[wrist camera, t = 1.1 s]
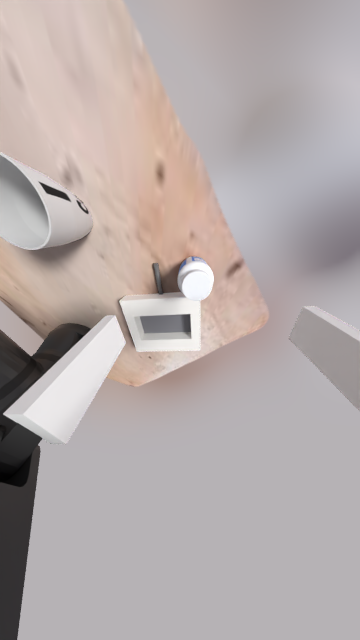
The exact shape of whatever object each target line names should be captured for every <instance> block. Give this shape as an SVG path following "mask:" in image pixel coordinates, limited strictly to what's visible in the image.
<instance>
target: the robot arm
mask: <svg viewBox="0 0 360 640" xmlns="http://www.w3.org/2000/svg"><path fill="white" fill-rule="evenodd" d="M289 340H291V342H292V343H293V344H294V345H295V346H296V347H297V348H298V349H299V350H300V351H301V352H302V353H303V354H304V355H305V356H306V357H307V358H308V359H309V360H310V361H311V362H312V363H313V364H314V365H315V366H316V367H317V368H318V369H319V370H320V371H321V372H322V373H323V374H324V375H325V376H326V377H327V378H328V379H329V380H330V381H331V382H332V383H333V384H334V385H335V386H336V387H337V389H339V390H340V392H341V393H342V394H344V396H345V397H346V398H347V399H348V400H349V401H350V402H351V403H352V404H353V405H354V406H355V407H356V408H357V409H358V410H359V411H360V330H358V329H356V328H355V327H353V326H351V325H349V324H347V323H345V322H344V321H342V320H340V319H338V318H336V317H334V316H332V315H330V314H329V313H327V312H325V311H323V310H322V309H320V308H318V307H316V306H304V307H302V309H301V312H300V314H299V316H298V318H297V321H296V323H295V325H294V328H293V330H292V332H291V334H290V336H289ZM125 344H126V342H125V339H124V336H123V334H122V331H121V329H120V326H119V323H118V321H117V318H116V316H115V315H108V316H105V317H104V318H103V319H102V320H101V321H100V322H98V323H97V324H96V325H95V326H94V327H93V328H92V329H89V328H87V327H85V326H82V325H78V324H71V323H70V324H63V325H60V326H58V327H57V328H55V329H54V330H53V331H51V332H50V333H49V335H48V336H47V338H46V339H45V340H44V342H43V343H42V345H41V346H40V347H39V349H38V350H37V352H36V353H35V354H34V355H33V356H30V355H29V354H27V353H26V352H25V351H24V350H23V349H21V347H19V346H18V345H17V344H16V343H15V342H14V341H13V340H12V339H10V338H9V337H8V336H7V335H6V334H5V333H4V332H2V331H1V330H0V640H17V636H18V628H19V620H20V612H21V604H22V596H23V595H22V594H23V587H24V580H25V572H26V564H27V563H26V562H27V554H28V547H29V539H30V531H31V523H32V515H33V507H34V498H35V491H36V482H37V474H38V466H39V458H40V446H38V444H39V442H40V441H41V440H42V439H44V440H46V441H48V442H49V443H50V444H67V443H68V441H69V439H70V437H71V436H72V434H73V432H74V431H75V429H76V427H77V426H78V424H79V422H80V420H81V419H82V417H83V415H84V414H85V412H86V410H87V408H88V407H89V405H90V403H91V402H92V400H93V398H94V397H95V395H96V393H97V391H98V390H99V388H100V386H101V385H102V383H103V381H104V379H105V378H106V376H107V374H108V373H109V371H110V369H111V368H112V366H113V364H114V363H115V361H116V359H117V357H118V356H119V354H120V352H121V351H122V349H123V347H124V345H125Z"/></svg>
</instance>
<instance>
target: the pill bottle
mask: <svg viewBox="0 0 360 640" xmlns="http://www.w3.org/2000/svg"><path fill="white" fill-rule="evenodd" d="M213 281H214V277H213V273H212V270H211V269H210V267H209V266H208V265H207V263H206V262H205V261H204V260H203V259H202V258H200V257H197V256H191V257H188V258H186V259H185V260H184V261H183V262H182V264H181V266H180V269H179V273H178V287H179V289H180V291H181V292H182V293H183V294H184V295H185V296H186V297H187V298H188V299H190V300H193V301H200V300H203V299H205V298H206V297H207V296H208V295H209V294H210V292H211V290H212V285H213Z"/></svg>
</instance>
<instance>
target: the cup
mask: <svg viewBox="0 0 360 640" xmlns="http://www.w3.org/2000/svg"><path fill="white" fill-rule="evenodd" d="M92 226H93V220H92V216H91V213H90V211H89V209H88V208H87V206H86V205H85V204H84V203H83V202H82V201H81V200H80V199H79V198H77V197H76V196H75V195H74V194H73V193H72V192H71V191H69V190H68V189H66V188H65V187H63V186H62V185H60V184H59V183H57V182H56V181H54V180H52V179H51V178H49V177H48V176H46V175H45V174H43V173H41V172H39V171H37V170H35V169H33V168H31V167H29V166H27V165H25V164H23V163H21V162H19V161H17V160H15V159H13V158H11V157H9V156H7V155H5V154H3V153H1V152H0V237H2V238H3V239H5V240H6V241H8V242H9V243H11V244H13V245H15V246H17V247H20V248H23V249H28V250H36V249H42V248H48V247H54V246H60V245H65V244H68V243H71V242H74V241H76V240H79V239H81V238H83V237H84V236H85V235H87V234H88V233H89V232H90V231H91V229H92Z"/></svg>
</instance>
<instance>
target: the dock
mask: <svg viewBox="0 0 360 640" xmlns="http://www.w3.org/2000/svg"><path fill="white" fill-rule="evenodd" d="M153 265H154V270H155V276H156V282H157V287H158V293H156V294H139V295H125V296H124V297H123V298H122V299H121V300H120V301H119V302H120V305H121V308H122V310H123V313H124V316H125V319H126V322H127V325H128V328H129V330H130V333H131V336H132V339H133V342H134V345H135V348H136V350H137V352H149V351H199V350H200V301H193V300H190V299H188V298H187V297H186V296H185V295H184V294H183V293H182V292H172V293H163V291H162V284H161V278H160V272H159V265H158V263H153Z"/></svg>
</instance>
